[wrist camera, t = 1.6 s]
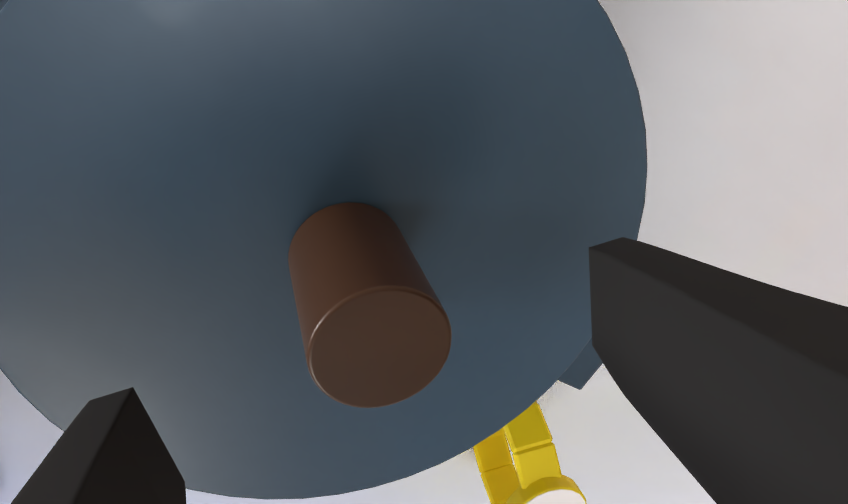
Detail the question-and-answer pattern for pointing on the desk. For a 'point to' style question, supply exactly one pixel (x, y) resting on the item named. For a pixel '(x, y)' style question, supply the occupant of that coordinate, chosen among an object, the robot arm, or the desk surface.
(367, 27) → the lid
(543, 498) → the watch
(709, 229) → the desk surface
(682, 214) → the desk surface
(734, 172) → the desk surface
